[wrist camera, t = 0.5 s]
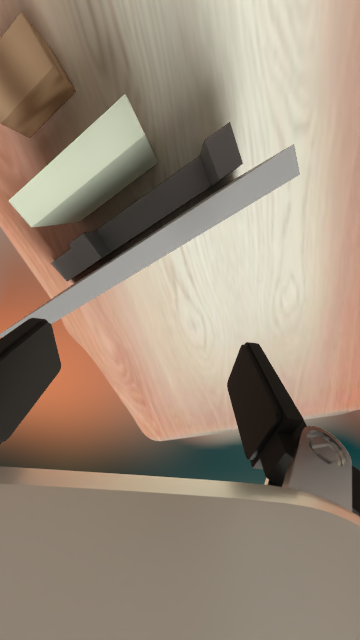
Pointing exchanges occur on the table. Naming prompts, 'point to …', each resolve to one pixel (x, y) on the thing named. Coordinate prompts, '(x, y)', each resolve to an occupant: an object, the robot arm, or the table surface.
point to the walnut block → (29, 79)
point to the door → (88, 170)
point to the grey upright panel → (155, 205)
